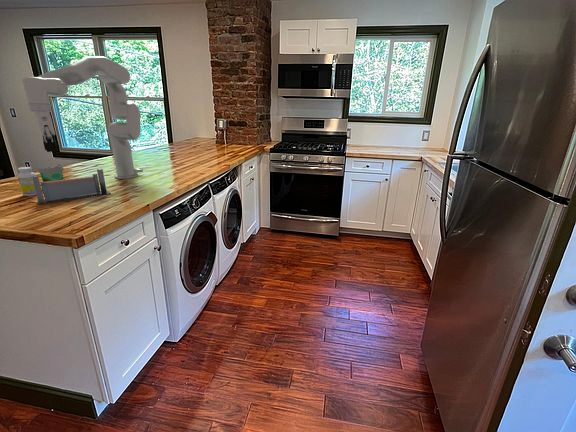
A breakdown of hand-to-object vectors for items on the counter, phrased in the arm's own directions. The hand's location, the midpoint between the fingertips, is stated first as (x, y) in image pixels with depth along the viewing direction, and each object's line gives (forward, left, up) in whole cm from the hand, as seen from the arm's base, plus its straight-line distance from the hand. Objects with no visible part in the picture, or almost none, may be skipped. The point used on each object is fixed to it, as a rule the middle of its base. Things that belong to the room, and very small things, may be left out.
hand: (50, 150), depth 138 cm
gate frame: (-4, +8, -21) cm, 23 cm away
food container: (-2, -22, -22) cm, 31 cm away
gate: (-4, +8, -20) cm, 22 cm away
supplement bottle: (+10, -10, -22) cm, 26 cm away
